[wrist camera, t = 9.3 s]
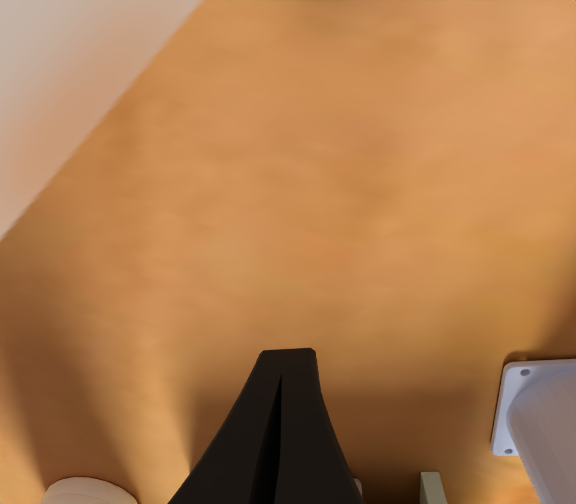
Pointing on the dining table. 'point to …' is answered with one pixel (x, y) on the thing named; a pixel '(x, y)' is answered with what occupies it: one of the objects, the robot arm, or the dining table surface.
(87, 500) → the bottle
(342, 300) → the dining table surface
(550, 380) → the robot arm
